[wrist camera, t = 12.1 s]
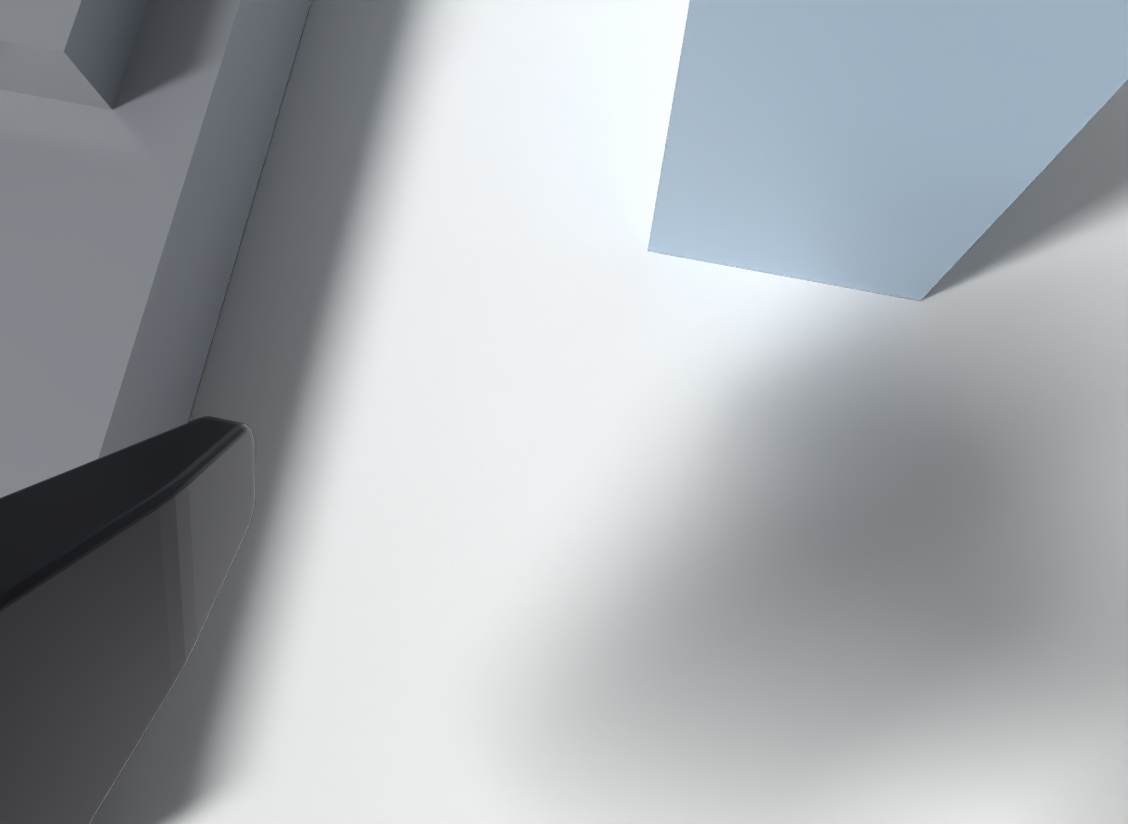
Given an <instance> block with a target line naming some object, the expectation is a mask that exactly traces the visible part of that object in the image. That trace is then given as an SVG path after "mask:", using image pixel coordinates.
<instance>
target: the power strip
mask: <svg viewBox="0 0 1128 824" xmlns="http://www.w3.org/2000/svg"><path fill="white" fill-rule="evenodd" d="M311 1H312V0H0V498H1V497H4V496H6V495H9V494H11V493H14V492H16V491H19V490H21V489H24V488H26V487H29V486H31V485H34V484H36V483H39V482H41V481H44V480H46V479H49V478H51V477H54V476H56V475H59V474H61V473H64V472H66V471H69V470H71V469H74V468H76V467H79V466H81V465H84V464H86V463H89V462H91V461H94V460H96V459H99V458H101V457H104V456H106V455H109V454H111V453H114V452H116V451H119V450H121V449H124V448H126V447H129V446H131V445H134V444H136V443H139V442H141V441H144V440H146V439H148V438H151V437H153V436H156V435H158V434H161V433H163V432H166V431H168V430H171V429H173V428H176V427H178V426H181V425H183V424H186V423H188V420H189V417H190V414H191V410H192V407H193V403H194V400H195V397H196V393H197V390H198V386H199V383H200V380H201V376H202V373H203V369H204V366H205V362H206V359H207V356H208V352H209V349H210V345H211V342H212V339H213V335H214V332H215V328H216V325H217V322H218V318H219V315H220V311H221V308H222V304H223V301H224V298H225V294H226V291H227V287H228V284H229V281H230V277H231V274H232V270H233V267H234V264H235V260H236V257H237V253H238V250H239V246H240V243H241V240H242V236H243V233H244V229H245V226H246V223H247V219H248V216H249V212H250V209H251V206H252V202H253V199H254V195H255V192H256V188H257V185H258V182H259V178H260V175H261V171H262V168H263V165H264V161H265V158H266V154H267V151H268V148H269V144H270V141H271V137H272V134H273V130H274V127H275V124H276V120H277V117H278V113H279V110H280V107H281V103H282V100H283V96H284V93H285V90H286V86H287V83H288V79H289V76H290V73H291V69H292V66H293V62H294V59H295V55H296V52H297V49H298V45H299V42H300V38H301V35H302V32H303V28H304V25H305V21H306V18H307V15H308V11H309V8H310V4H311Z"/></svg>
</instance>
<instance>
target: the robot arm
mask: <svg viewBox="0 0 1128 824" xmlns="http://www.w3.org/2000/svg"><path fill="white" fill-rule="evenodd" d="M254 504H255V465H254V437H253V434H252V430H251V429H250V428H249V427H248V426H247V425H246V424H244V423H239V422H235V421H230V420H225V419H220V418H215V417H210V416H206V417H201V418H198V419H196V420H193V421H191V422H188V423H186V424H183V425H181V426H178V427H176V428H173V429H171V430H168V431H166V432H163V433H161V434H158V435H156V436H153V437H151V438H148V439H146V440H144V441H141V442H139V443H136V444H134V445H131V446H129V447H126V448H124V449H121V450H119V451H116V452H114V453H111V454H109V455H106V456H104V457H101V458H99V459H96V460H94V461H91V462H89V463H86V464H84V465H81V466H79V467H76V468H74V469H71V470H69V471H66V472H64V473H61V474H59V475H56V476H54V477H51V478H49V479H46V480H44V481H41V482H39V483H36V484H34V485H31V486H29V487H26V488H24V489H21V490H19V491H16V492H14V493H11V494H9V495H6V496H4V497H1V498H0V824H90V823H91V821H92V819H93V818H94V816H95V814H96V813H97V811H98V809H99V808H100V806H101V804H102V803H103V801H104V799H105V798H106V796H107V795H108V793H109V791H110V790H111V788H112V786H113V785H114V783H115V781H116V780H117V778H118V776H119V775H120V773H121V771H122V770H123V768H124V766H125V765H126V763H127V762H128V760H129V758H130V757H131V755H132V753H133V752H134V750H135V748H136V747H137V745H138V743H139V742H140V740H141V738H142V737H143V735H144V733H145V732H146V730H147V729H148V727H149V725H150V724H151V722H152V720H153V719H154V717H155V715H156V714H157V712H158V710H159V709H160V707H161V705H162V704H163V702H164V700H165V699H166V697H167V696H168V694H169V692H170V691H171V689H172V687H173V686H174V684H175V682H176V680H177V678H178V677H179V675H180V673H181V671H182V670H183V668H184V666H185V664H186V662H187V660H188V658H189V656H190V654H191V652H192V650H193V648H194V646H195V644H196V642H197V640H198V637H199V635H200V633H201V631H202V629H203V626H204V624H205V622H206V620H207V618H208V615H209V613H210V611H211V609H212V606H213V604H214V602H215V600H216V598H217V595H218V593H219V591H220V589H221V587H222V584H223V582H224V580H225V578H226V576H227V573H228V571H229V569H230V567H231V565H232V562H233V560H234V558H235V556H236V554H237V551H238V549H239V547H240V545H241V542H242V540H243V538H244V536H245V534H246V531H247V529H248V527H249V524H250V522H251V518H252V515H253V510H254Z"/></svg>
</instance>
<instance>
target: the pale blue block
mask: <svg viewBox="0 0 1128 824" xmlns="http://www.w3.org/2000/svg"><path fill="white" fill-rule="evenodd" d="M1127 80H1128V0H690V3H689V9H688V15H687V21H686V27H685V33H684V39H683V44H682V50H681V56H680V62H679V68H678V74H677V80H676V86H675V92H674V98H673V104H672V110H671V115H670V121H669V127H668V133H667V139H666V145H665V151H664V157H663V163H662V169H661V175H660V181H659V186H658V192H657V198H656V204H655V210H654V216H653V222H652V228H651V234H650V240H649V246H648V251H650V252H656V253H661V254H666V255H672V256H677V257H683V258H688V259H694V260H699V261H705V262H710V263H716V264H721V265H727V266H732V267H737V268H743V269H748V270H754V271H759V272H765V273H770V274H776V275H781V276H787V277H792V278H797V279H803V280H808V281H814V282H819V283H825V284H830V285H836V286H841V287H847V288H852V289H858V290H863V291H868V292H874V293H879V294H885V295H890V296H896V297H901V298H907V299H912V300H918V301H921V300H922V299H923V298H924V297H925V296H926V295H927V293H928V292H929V291H930V290H931V289H932V288H933V287H934V286H935V285H936V284H937V283H938V282H939V281H940V280H941V279H942V277H943V276H944V275H945V274H946V273H947V272H948V271H949V270H950V269H951V268H952V267H953V266H954V265H955V264H956V263H957V261H958V260H959V259H960V258H961V257H962V256H963V255H964V254H965V253H966V252H967V251H968V250H969V249H970V248H971V247H972V245H973V244H974V243H975V242H976V241H977V240H978V239H979V238H980V237H981V236H982V235H983V234H984V233H985V232H986V231H987V229H988V228H989V227H990V226H991V225H992V224H993V223H994V222H995V221H996V220H997V219H998V218H999V217H1000V216H1001V215H1002V214H1003V212H1004V211H1005V210H1006V209H1007V208H1008V207H1009V206H1010V205H1011V204H1012V203H1013V202H1014V201H1015V200H1016V199H1017V198H1018V196H1019V195H1020V194H1021V193H1022V192H1023V191H1024V190H1025V189H1026V188H1027V187H1028V186H1029V185H1030V184H1031V183H1032V182H1033V180H1034V179H1035V178H1036V177H1037V176H1038V175H1039V174H1040V173H1041V172H1042V171H1043V170H1044V169H1045V168H1046V167H1047V166H1048V164H1049V163H1050V162H1051V161H1052V160H1053V159H1054V158H1055V157H1056V156H1057V155H1058V154H1059V153H1060V152H1061V151H1062V150H1063V148H1064V147H1065V146H1066V145H1067V144H1068V143H1069V142H1070V141H1071V140H1072V139H1073V138H1074V137H1075V136H1076V135H1077V134H1078V132H1079V131H1080V130H1081V129H1082V128H1083V127H1084V126H1085V125H1086V124H1087V123H1088V122H1089V121H1090V120H1091V119H1092V118H1093V116H1094V115H1095V114H1096V113H1097V112H1098V111H1099V110H1100V109H1101V108H1102V107H1103V106H1104V105H1105V104H1106V103H1107V102H1108V100H1109V99H1110V98H1111V97H1112V96H1113V95H1114V94H1115V93H1116V92H1117V91H1118V90H1119V89H1120V88H1121V87H1122V86H1123V85H1124V83H1125V82H1126V81H1127Z"/></svg>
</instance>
